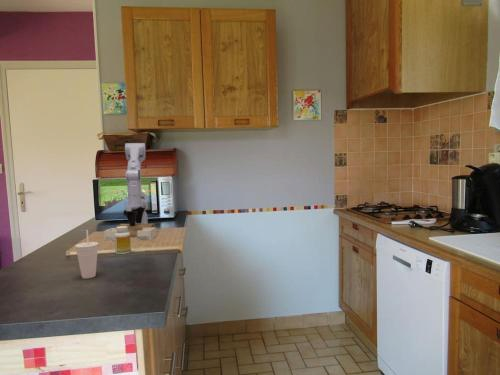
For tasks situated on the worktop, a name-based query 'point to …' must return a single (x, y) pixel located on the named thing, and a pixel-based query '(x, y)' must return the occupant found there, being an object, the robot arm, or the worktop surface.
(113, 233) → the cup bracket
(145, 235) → the cup bracket
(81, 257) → the smoothie
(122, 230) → the supplement bottle
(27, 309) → the worktop surface
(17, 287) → the worktop surface
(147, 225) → the oak rail
